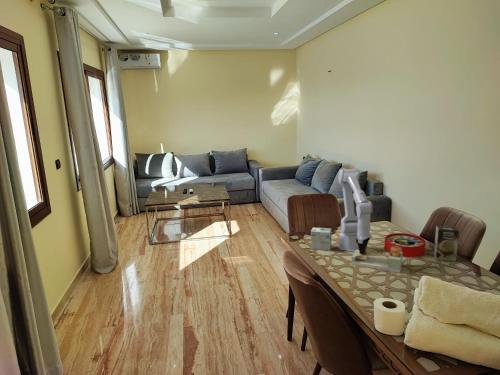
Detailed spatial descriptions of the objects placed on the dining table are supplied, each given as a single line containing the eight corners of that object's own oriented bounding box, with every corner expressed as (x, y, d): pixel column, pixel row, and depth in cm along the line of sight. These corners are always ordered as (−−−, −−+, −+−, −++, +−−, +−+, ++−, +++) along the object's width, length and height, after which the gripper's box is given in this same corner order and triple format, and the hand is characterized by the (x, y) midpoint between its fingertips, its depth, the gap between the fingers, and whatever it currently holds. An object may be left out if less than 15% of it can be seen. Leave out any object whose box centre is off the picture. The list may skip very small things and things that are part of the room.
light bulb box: (331, 246, 193) (331, 228, 190) (330, 250, 186) (330, 232, 184) (312, 244, 196) (312, 226, 194) (310, 249, 190) (310, 230, 188)
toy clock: (381, 232, 194) (419, 233, 191) (381, 242, 196) (418, 243, 192) (388, 246, 175) (430, 247, 172) (388, 256, 177) (430, 258, 173)
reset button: (389, 260, 163) (390, 249, 161) (390, 256, 167) (391, 245, 165) (400, 262, 160) (401, 250, 159) (401, 258, 164) (402, 247, 163)
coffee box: (435, 259, 171) (438, 229, 167) (433, 254, 176) (435, 225, 173) (456, 261, 168) (459, 230, 164) (453, 256, 174) (456, 226, 170)
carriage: (355, 260, 169) (356, 247, 168) (359, 254, 176) (359, 241, 174) (366, 262, 167) (366, 248, 165) (369, 256, 174) (369, 242, 172)
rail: (351, 264, 170) (351, 252, 168) (356, 256, 178) (356, 244, 177) (399, 272, 159) (400, 260, 158) (401, 264, 168) (402, 251, 166)
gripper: (369, 232, 160) (368, 258, 163) (374, 222, 172) (373, 247, 175) (354, 230, 163) (353, 256, 166) (360, 220, 175) (359, 245, 178)
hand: (362, 251), depth 171 cm, fingers closed on carriage, 3 cm apart
